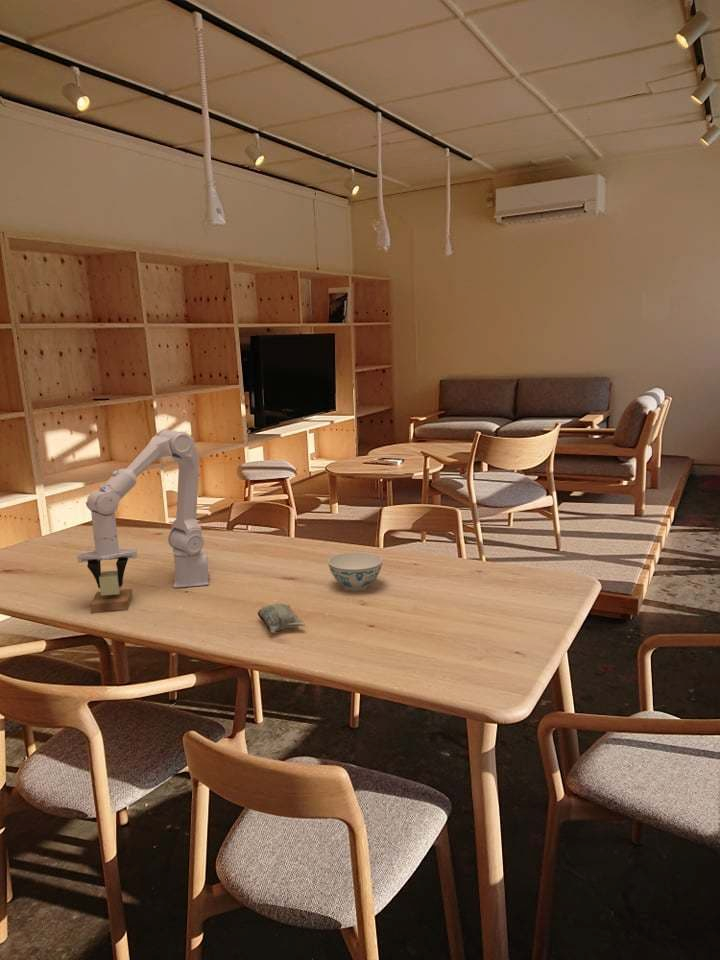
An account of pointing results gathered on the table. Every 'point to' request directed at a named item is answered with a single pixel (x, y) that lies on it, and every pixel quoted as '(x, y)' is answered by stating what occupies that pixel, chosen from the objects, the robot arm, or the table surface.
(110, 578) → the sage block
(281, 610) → the packaged food
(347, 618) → the table surface
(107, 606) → the walnut box
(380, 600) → the table surface
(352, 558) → the chinaware
